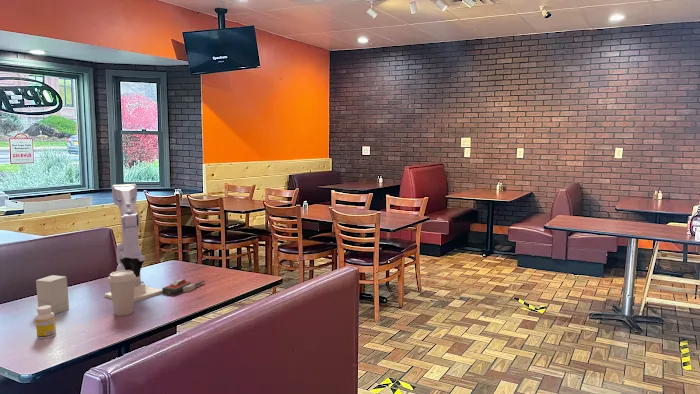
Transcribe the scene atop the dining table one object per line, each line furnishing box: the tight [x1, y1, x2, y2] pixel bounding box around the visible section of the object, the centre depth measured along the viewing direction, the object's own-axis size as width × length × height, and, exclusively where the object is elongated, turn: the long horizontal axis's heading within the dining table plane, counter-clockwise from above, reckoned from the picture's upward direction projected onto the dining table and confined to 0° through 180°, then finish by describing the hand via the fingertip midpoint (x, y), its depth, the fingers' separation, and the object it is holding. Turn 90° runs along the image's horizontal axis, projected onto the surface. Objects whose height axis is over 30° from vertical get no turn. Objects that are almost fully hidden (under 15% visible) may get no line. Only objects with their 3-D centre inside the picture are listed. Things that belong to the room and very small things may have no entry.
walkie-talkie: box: [161, 278, 206, 296], centre depth 218 cm, size 9×4×20 cm
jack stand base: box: [103, 282, 163, 303], centre depth 210 cm, size 16×16×4 cm
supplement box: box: [35, 274, 70, 315], centre depth 191 cm, size 7×7×13 cm
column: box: [129, 269, 142, 287], centre depth 209 cm, size 4×4×7 cm
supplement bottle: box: [34, 305, 57, 340], centre depth 167 cm, size 5×5×10 cm
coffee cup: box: [107, 270, 136, 317], centre depth 188 cm, size 10×10×15 cm
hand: (133, 275), depth 209 cm, fingers closed on column, 4 cm apart
